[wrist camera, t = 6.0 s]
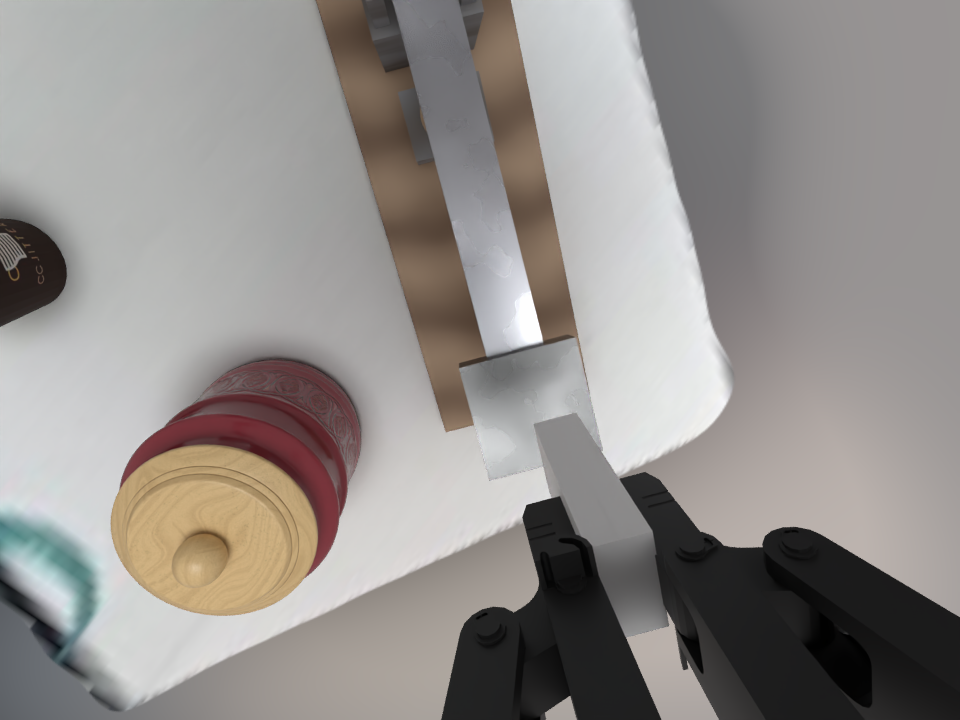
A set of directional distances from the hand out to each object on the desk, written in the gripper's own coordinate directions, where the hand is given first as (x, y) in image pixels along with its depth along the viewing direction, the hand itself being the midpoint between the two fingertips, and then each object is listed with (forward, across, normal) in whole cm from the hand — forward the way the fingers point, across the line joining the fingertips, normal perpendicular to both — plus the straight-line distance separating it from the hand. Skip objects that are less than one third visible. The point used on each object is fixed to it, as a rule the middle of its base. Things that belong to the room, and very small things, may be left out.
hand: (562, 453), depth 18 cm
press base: (+25, 0, +7) cm, 26 cm away
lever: (+13, 0, +7) cm, 15 cm away
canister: (+25, -19, -6) cm, 32 cm away
